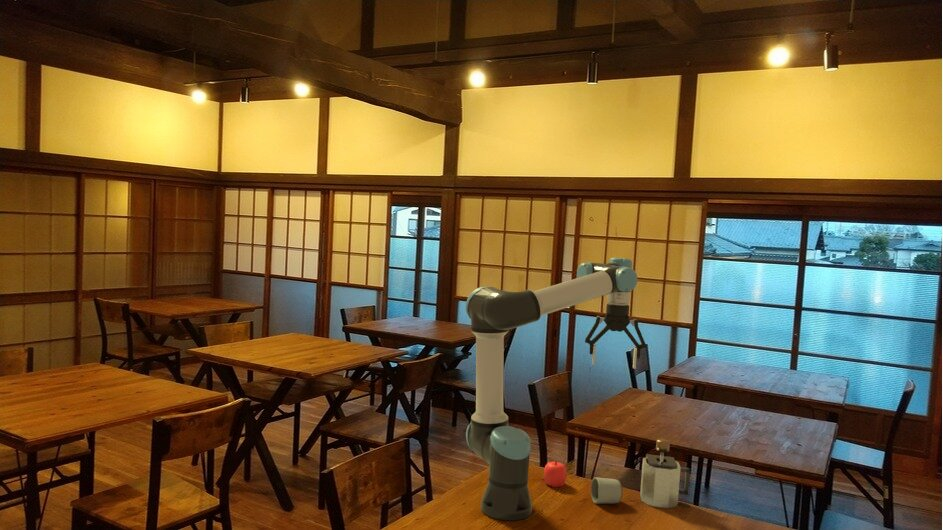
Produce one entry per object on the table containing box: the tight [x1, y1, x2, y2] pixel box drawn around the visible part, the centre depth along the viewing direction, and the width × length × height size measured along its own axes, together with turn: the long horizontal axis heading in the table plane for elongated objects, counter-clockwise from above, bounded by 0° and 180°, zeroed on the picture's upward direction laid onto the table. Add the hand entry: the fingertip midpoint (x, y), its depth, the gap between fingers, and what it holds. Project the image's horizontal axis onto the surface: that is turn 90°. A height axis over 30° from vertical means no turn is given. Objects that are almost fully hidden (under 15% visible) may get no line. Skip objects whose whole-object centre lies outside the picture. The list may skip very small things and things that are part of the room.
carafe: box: [639, 454, 691, 510], centre depth 208 cm, size 14×11×13 cm
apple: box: [543, 460, 568, 488], centre depth 218 cm, size 8×8×8 cm
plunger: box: [655, 438, 671, 468], centre depth 208 cm, size 8×8×18 cm
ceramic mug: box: [590, 476, 624, 504], centre depth 207 cm, size 11×8×8 cm
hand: (613, 366), depth 224 cm, fingers open, 13 cm apart
